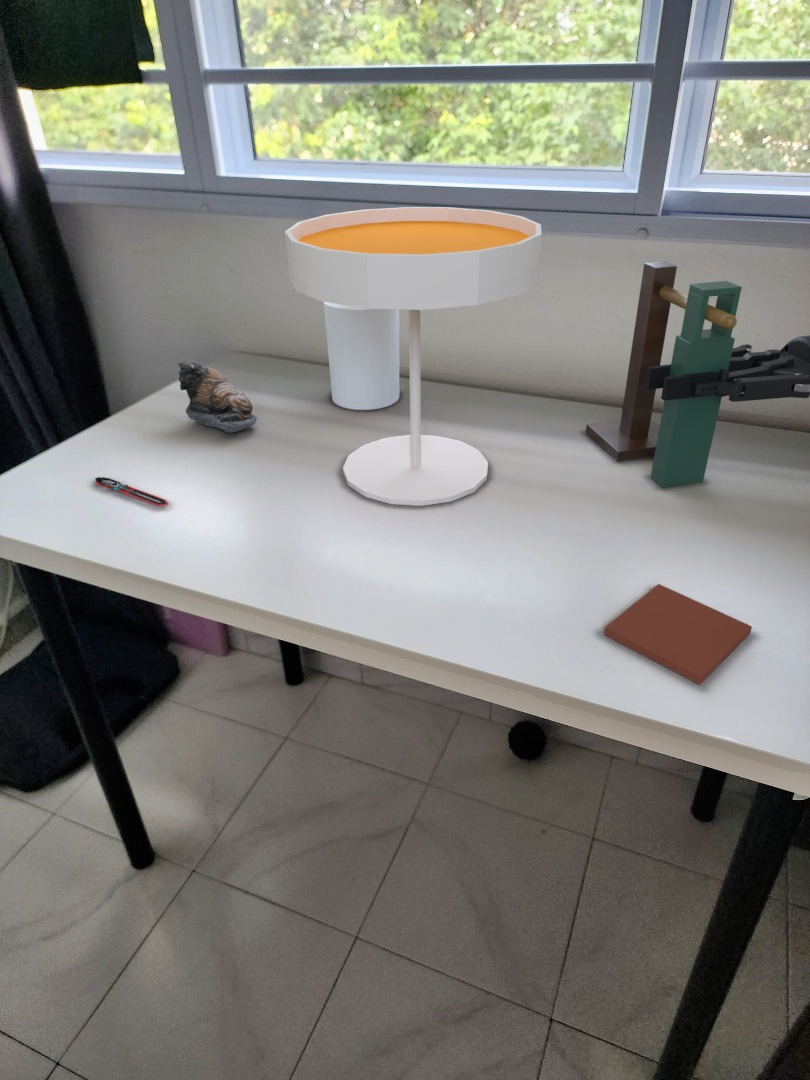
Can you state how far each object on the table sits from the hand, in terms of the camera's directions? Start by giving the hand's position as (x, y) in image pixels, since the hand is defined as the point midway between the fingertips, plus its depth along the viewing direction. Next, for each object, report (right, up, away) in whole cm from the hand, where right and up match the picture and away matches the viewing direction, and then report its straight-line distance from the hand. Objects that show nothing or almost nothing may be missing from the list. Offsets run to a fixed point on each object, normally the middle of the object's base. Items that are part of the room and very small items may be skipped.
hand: (656, 383), depth 91 cm
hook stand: (+4, -8, +14) cm, 16 cm away
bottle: (-37, +5, +35) cm, 51 cm away
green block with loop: (+5, -11, +9) cm, 15 cm away
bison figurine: (-59, -2, +26) cm, 65 cm away
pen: (-67, -13, +8) cm, 68 cm away
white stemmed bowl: (-29, -10, +12) cm, 33 cm away
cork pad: (-4, -28, -18) cm, 34 cm away
